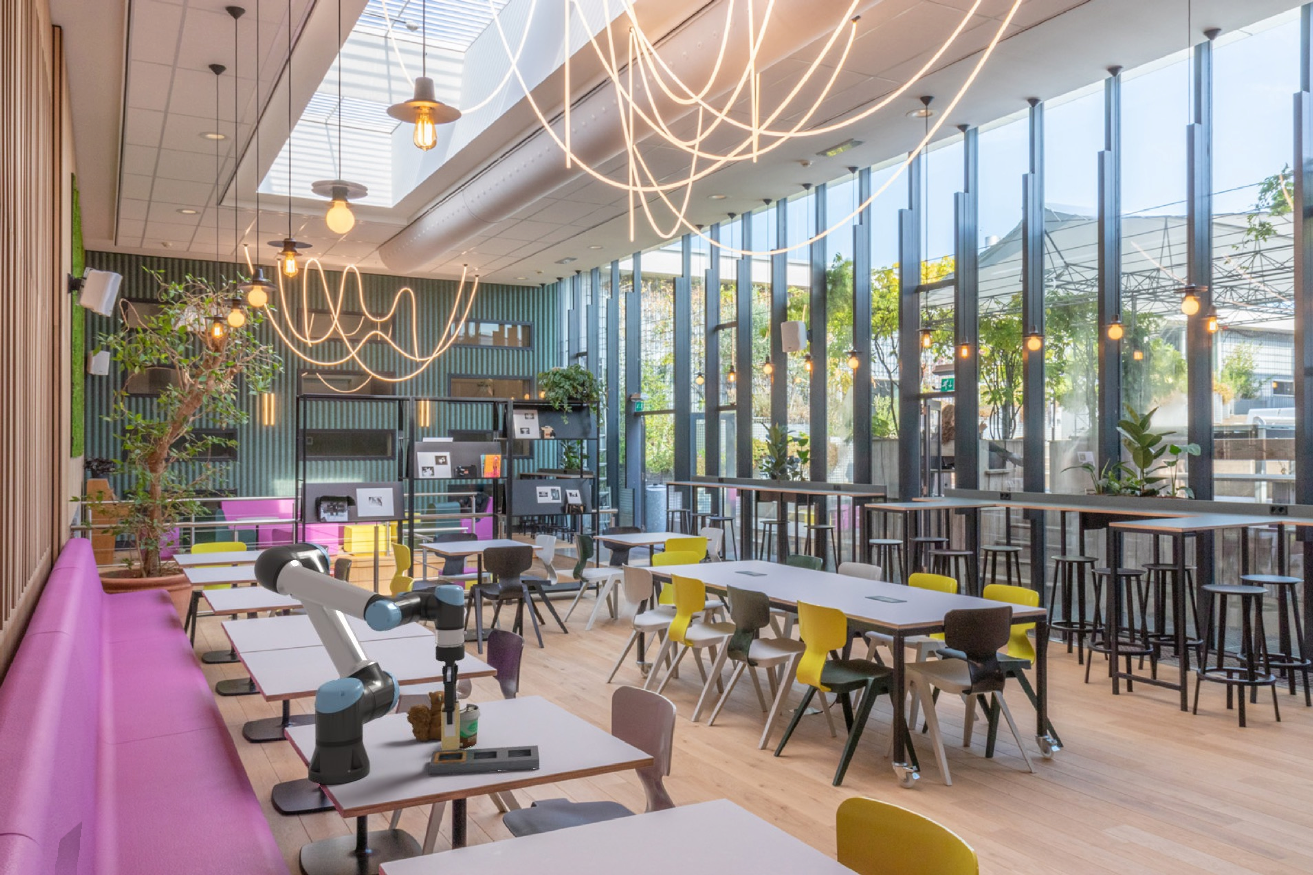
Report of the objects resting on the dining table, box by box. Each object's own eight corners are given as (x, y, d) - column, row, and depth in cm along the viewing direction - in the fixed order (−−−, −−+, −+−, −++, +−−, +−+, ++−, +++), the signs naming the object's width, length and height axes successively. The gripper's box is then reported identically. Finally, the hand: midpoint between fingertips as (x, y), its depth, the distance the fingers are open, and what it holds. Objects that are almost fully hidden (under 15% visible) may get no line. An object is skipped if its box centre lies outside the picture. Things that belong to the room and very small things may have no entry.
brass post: (441, 750, 244) (441, 707, 244) (442, 745, 248) (442, 703, 248) (459, 749, 244) (458, 706, 245) (459, 744, 249) (459, 702, 249)
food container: (470, 751, 259) (470, 715, 259) (449, 750, 260) (449, 714, 260) (487, 738, 271) (487, 703, 271) (467, 737, 272) (467, 703, 272)
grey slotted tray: (429, 775, 239) (429, 764, 240) (432, 760, 251) (432, 750, 251) (539, 768, 244) (539, 758, 244) (537, 754, 256) (537, 744, 256)
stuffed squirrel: (462, 737, 272) (462, 692, 273) (415, 746, 264) (415, 699, 265) (449, 729, 281) (449, 685, 281) (403, 738, 272) (403, 692, 273)
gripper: (463, 650, 239) (463, 742, 238) (466, 637, 256) (466, 723, 256) (432, 651, 238) (433, 744, 237) (438, 638, 255) (438, 724, 254)
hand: (450, 733), depth 246 cm, fingers closed on brass post, 4 cm apart
